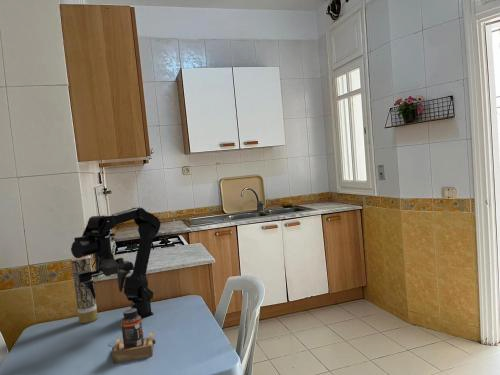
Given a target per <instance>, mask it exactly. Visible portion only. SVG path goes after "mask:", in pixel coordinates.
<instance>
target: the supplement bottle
mask: <svg viewBox="0 0 500 375" xmlns="http://www.w3.org/2000/svg"><path fill="white" fill-rule="evenodd" d="M122 315H123V318H122V319H121V320H120V325H121V326H120V328H121V335H122V342H123V344H124V349H129V348H134V347H140V346H143V345H144V338H145V337H144V332H143V331H144V330H143V322H142V318H141V317H140V316H139V315H138V314H137V309H131V308H129V309H128V308H127V309H125V310H123V314H122Z"/></svg>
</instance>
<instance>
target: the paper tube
mask: <svg viewBox="0 0 500 375" xmlns="http://www.w3.org/2000/svg"><path fill="white" fill-rule="evenodd" d="M71 266H72V267H71V268H72V274H73V276H72V277H73V284H74V292H75V299H76V301H75V302H76V309H77V316H78V317H77V318H78V322H79V323H80V324H88V323H92V322H95V321H96V320H97V319H98V309H97V299H96V297H95V299H93V297H92V296H91V294H90V292H89V290H88V288H87V287H86V286H85V284H82V283H79V282H77V281H75V274H76V272H80V271H84V270H88V271H90V272H92V271H93V267H92V266H93V265H92V257H91V255H89V256H85V257H82V258H75V257H74V256H73V257H72V258H71ZM91 280H92V281H93V287H94V288H95V283H94V277H92V278H91ZM94 292H95V289H94ZM95 293H96V292H95Z"/></svg>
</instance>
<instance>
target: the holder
mask: <svg viewBox="0 0 500 375" xmlns="http://www.w3.org/2000/svg"><path fill="white" fill-rule="evenodd" d="M143 338H144V345H143V346H140V347H134V348H129V349H124V344H123V341H122V337H121V336H119V337H117V339H116V341H115V344H114V346H112V348H111V350H112V352H111V356H112V363H113V364H116V363H117V364H118V363H122V362H127V361H133V360H138V359H142V358H146V357H147V358H148V357H152V356H153V355H154V345H155V344H156V342H157V341H156V339H155V336H154V331H153V330H152V331H150V332H149V336H148V337H143Z"/></svg>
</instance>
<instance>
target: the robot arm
mask: <svg viewBox="0 0 500 375" xmlns="http://www.w3.org/2000/svg"><path fill="white" fill-rule="evenodd" d="M132 220H133V222H134V224H135V225H136V226H138V229H137V232H138V234H139V241H138V242H139V243H138V246H137V251H136V255H135V261H134V264H133V262H132V261H129V260H124V258H123V257H119V258H115V256H114V254H113V253H112V243H111V237H115V235H116V234H115V233H114V232H112V229H114V228H115V227H116V226H117V225H120V224H123V223H125V222H129V221H132ZM160 228H161V220H160V219H159V217H157V216H155V214H152V213H151V212H149V211H147V210H146V209H144V208H143V207H141V206H139V207H132V208H130V209H127V210H123V211H120V212H116V213H112V214H108V215H107V214H106V215H93V216H91V217H89V219H88V221H87V224H86V227H85V228H84V231H83V233H82V235H81V236H78V237H77V236H76V237H74V241H73V242H72V244H71V247H70V251H71V255H72V256H73V257H75V258H82V257H85V256H89V255H90V256H92V255H93V258H94V263H95V264H94V265H95V266H94V270H92V272H90V271H88V270H84V271H80V272H76V274H75V281H77V282H79V283H82V284H85V286H86V287H87V288H88V290H89V292H90V294H91V296H92V297H93V299H95V298H96V292H94V290H95V286H94V287H93V282H94V280H93V281H92V280H91V278H92V277H93V278H94V277H98V276H102V275H103V276H104V277H110V276H112V275H116V277H117V284H118V290H119V292H120V293H122V292H123V293H124V295H125V296H126V298H127V301H128V302H130V301H131V305H130V309H137V314H138V315H139V316H140V317H141V319H143V318H146V317H149V316H152V315H154V312H153V311H152V305H151V300H153V299H154V292H153V291H152V290H151V289H150V288H149V282H148V278H147V275H146V274H147V270H148V266H149V260H150V255H151V251H152V246H153V240H154V238H156V236H157V235H158V234H159V231H160ZM131 271H132V274H131V275H130V276H128V274H130V273H131Z"/></svg>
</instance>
